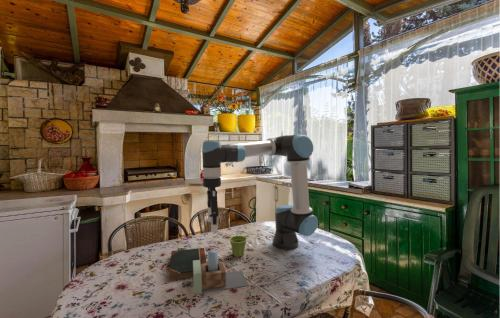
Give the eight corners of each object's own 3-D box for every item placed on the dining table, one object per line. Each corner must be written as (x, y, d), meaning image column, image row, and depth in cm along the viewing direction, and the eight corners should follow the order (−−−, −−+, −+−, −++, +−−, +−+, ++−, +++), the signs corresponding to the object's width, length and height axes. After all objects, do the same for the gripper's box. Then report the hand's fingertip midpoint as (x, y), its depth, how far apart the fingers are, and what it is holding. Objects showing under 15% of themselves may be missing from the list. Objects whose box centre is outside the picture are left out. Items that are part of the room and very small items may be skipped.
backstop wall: (200, 277, 112) (199, 259, 112) (201, 292, 101) (201, 273, 100) (193, 278, 112) (192, 260, 111) (194, 293, 100) (193, 274, 100)
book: (171, 257, 134) (168, 282, 109) (171, 250, 133) (168, 274, 109) (204, 253, 138) (208, 276, 114) (204, 247, 138) (208, 269, 113)
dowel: (216, 276, 110) (216, 249, 110) (218, 280, 106) (218, 253, 106) (207, 277, 109) (207, 250, 109) (208, 282, 105) (208, 254, 105)
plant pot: (244, 259, 130) (244, 242, 129) (227, 257, 132) (227, 241, 131) (248, 251, 139) (248, 236, 138) (232, 250, 141) (232, 235, 140)
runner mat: (241, 270, 118) (241, 270, 118) (248, 285, 105) (248, 285, 105) (199, 276, 113) (199, 275, 113) (201, 293, 100) (201, 292, 100)
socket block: (222, 273, 114) (222, 261, 114) (225, 285, 104) (225, 272, 104) (200, 277, 111) (199, 263, 111) (201, 289, 102) (201, 275, 101)
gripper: (200, 174, 116) (201, 218, 118) (205, 181, 92) (206, 237, 94) (217, 173, 118) (217, 217, 120) (225, 181, 94) (226, 235, 96)
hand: (212, 226), depth 107 cm, fingers open, 13 cm apart
